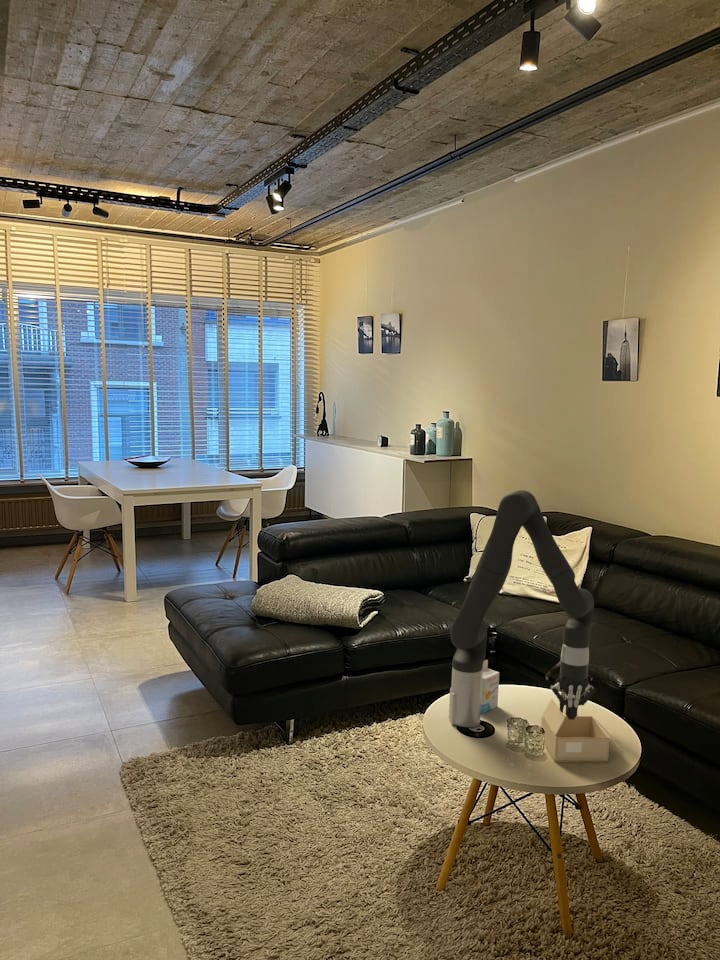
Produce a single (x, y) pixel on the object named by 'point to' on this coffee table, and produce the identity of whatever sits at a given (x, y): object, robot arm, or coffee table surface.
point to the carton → (577, 741)
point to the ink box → (489, 688)
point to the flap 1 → (554, 717)
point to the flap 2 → (608, 735)
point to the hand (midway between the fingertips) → (570, 718)
